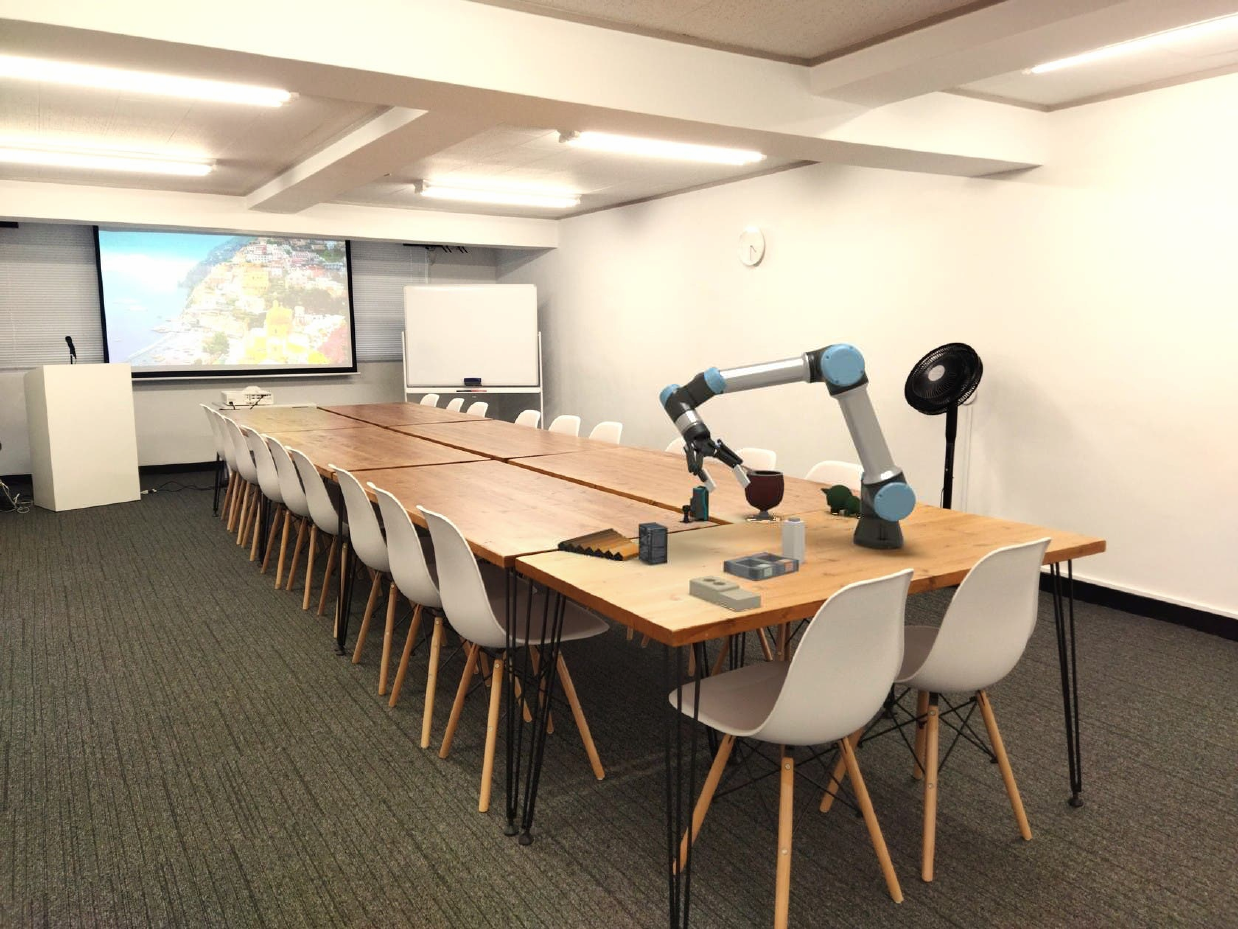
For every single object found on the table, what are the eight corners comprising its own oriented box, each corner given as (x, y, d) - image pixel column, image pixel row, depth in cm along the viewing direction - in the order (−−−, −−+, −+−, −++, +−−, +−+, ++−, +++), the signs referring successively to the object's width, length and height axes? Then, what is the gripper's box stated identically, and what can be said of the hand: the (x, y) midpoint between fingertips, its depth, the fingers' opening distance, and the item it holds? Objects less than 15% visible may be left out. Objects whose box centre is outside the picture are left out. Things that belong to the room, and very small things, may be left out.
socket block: (765, 562, 243) (765, 551, 243) (799, 570, 234) (799, 559, 234) (723, 572, 233) (723, 560, 232) (757, 581, 223) (757, 569, 223)
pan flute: (607, 537, 279) (557, 551, 259) (607, 527, 278) (557, 540, 258) (671, 548, 264) (623, 564, 244) (671, 537, 263) (623, 552, 243)
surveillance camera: (677, 487, 301) (699, 485, 306) (677, 521, 302) (699, 518, 308) (687, 489, 296) (709, 487, 302) (687, 524, 298) (709, 521, 303)
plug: (791, 559, 246) (792, 516, 245) (804, 562, 243) (805, 518, 241) (781, 562, 244) (782, 518, 242) (793, 565, 240) (795, 520, 238)
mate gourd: (776, 516, 312) (777, 461, 310) (788, 523, 299) (790, 466, 296) (734, 517, 310) (735, 462, 308) (745, 524, 297) (746, 467, 294)
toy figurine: (886, 523, 308) (824, 508, 324) (893, 471, 304) (830, 459, 320) (875, 527, 301) (812, 512, 317) (882, 474, 297) (817, 462, 313)
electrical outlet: (737, 596, 197) (689, 579, 212) (737, 613, 197) (688, 595, 212) (761, 591, 201) (711, 575, 215) (760, 608, 201) (711, 590, 216)
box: (637, 559, 247) (638, 523, 245) (655, 557, 249) (655, 521, 248) (650, 565, 240) (650, 528, 238) (668, 563, 242) (668, 526, 241)
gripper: (716, 436, 259) (753, 491, 249) (655, 441, 243) (691, 500, 234) (729, 419, 254) (767, 475, 245) (668, 423, 238) (705, 483, 229)
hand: (730, 487), depth 239 cm, fingers open, 13 cm apart
